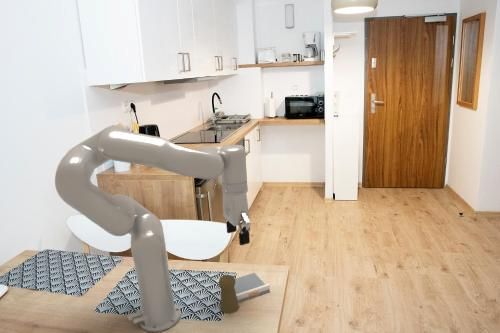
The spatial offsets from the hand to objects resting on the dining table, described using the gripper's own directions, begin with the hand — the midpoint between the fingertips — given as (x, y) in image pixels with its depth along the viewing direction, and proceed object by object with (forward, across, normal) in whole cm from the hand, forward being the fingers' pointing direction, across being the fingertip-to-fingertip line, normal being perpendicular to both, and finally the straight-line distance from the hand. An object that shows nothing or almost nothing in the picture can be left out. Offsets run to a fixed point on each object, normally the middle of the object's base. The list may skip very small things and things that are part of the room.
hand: (238, 237), depth 124 cm
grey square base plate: (+22, -5, +4) cm, 23 cm away
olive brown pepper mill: (+23, +2, -5) cm, 23 cm away
